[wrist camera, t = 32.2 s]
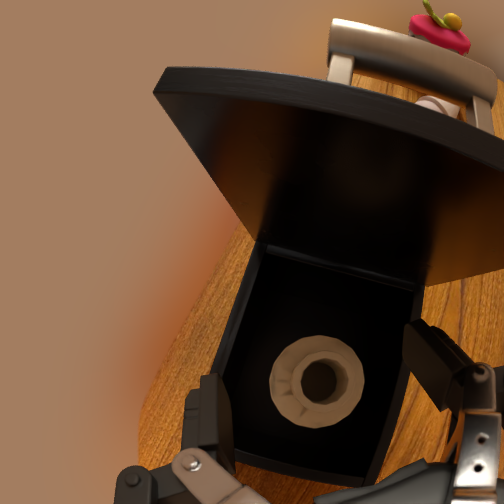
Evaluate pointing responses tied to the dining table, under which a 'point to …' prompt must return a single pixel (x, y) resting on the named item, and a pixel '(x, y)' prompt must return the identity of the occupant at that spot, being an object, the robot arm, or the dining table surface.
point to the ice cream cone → (439, 105)
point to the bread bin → (306, 325)
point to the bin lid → (355, 155)
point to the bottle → (316, 381)
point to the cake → (440, 30)
